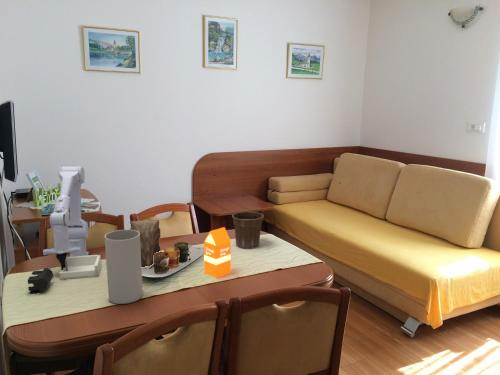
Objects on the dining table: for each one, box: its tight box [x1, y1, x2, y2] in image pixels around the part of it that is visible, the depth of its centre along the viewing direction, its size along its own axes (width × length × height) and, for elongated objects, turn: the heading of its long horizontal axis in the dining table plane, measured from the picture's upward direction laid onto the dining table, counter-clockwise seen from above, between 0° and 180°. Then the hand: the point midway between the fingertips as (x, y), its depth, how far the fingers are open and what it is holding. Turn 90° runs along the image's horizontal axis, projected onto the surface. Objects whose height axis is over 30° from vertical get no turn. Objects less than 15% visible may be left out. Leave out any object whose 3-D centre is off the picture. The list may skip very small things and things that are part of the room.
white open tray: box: [59, 254, 102, 281], centre depth 181 cm, size 13×15×5 cm
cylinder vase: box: [104, 229, 144, 305], centre depth 157 cm, size 12×12×25 cm
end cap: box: [27, 267, 54, 295], centre depth 165 cm, size 10×7×7 cm
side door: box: [62, 260, 68, 272], centre depth 180 cm, size 10×2×4 cm, turn 27°
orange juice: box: [203, 226, 232, 279], centre depth 180 cm, size 8×9×20 cm
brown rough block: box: [129, 218, 161, 267], centre depth 191 cm, size 13×13×20 cm
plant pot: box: [231, 211, 264, 250], centre depth 216 cm, size 16×16×16 cm
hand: (63, 269), depth 179 cm, fingers closed, pressing on side door
